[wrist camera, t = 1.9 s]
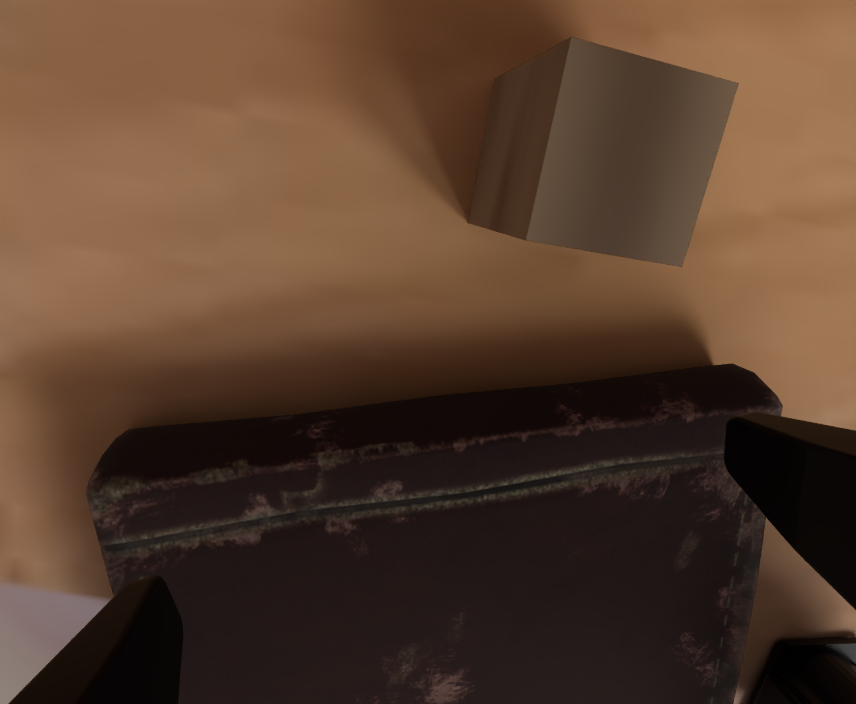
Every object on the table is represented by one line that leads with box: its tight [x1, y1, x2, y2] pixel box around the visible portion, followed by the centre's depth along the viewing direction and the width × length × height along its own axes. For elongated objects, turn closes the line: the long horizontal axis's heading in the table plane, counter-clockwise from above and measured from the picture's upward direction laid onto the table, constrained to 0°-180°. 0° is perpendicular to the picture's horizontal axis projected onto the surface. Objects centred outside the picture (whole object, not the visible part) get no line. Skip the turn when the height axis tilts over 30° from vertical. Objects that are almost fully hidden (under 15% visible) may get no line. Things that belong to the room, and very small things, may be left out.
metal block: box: [468, 37, 739, 267], centre depth 17 cm, size 5×5×6 cm
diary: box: [86, 364, 783, 704], centre depth 23 cm, size 19×25×5 cm
